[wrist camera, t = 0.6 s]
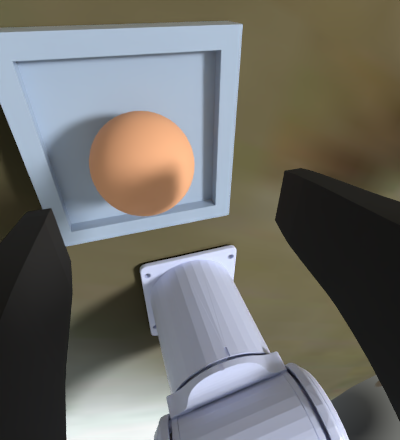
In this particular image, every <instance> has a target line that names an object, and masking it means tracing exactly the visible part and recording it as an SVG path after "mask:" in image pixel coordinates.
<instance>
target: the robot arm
mask: <svg viewBox="0 0 400 440" xmlns="http://www.w3.org/2000/svg"><path fill="white" fill-rule="evenodd" d="M275 221H276V223H277V225H278V226H279V228H280V230H281V232H282V234H283V236H284V237H285V239H286V241H287V242H288V244H289V245H290V247H291V248H292V249H293V251H294V252H295V253H296V254H297V256H298V257H299V258H300V260H301V261H302V262H303V264H304V265H305V266H306V267H307V269H308V270H309V271H310V272H311V274H312V275H313V276H314V277H315V279H316V280H317V281H318V283H319V284H320V285H321V286H322V288H323V289H324V290H325V291H326V293H327V294H328V295H329V297H330V298H331V300H332V301H333V302H334V304H335V305H336V307H337V308H338V310H339V312H340V313H341V315H342V316H343V318H344V320H345V321H346V323H347V324H348V326H349V327H350V329H351V331H352V332H353V334H354V336H355V338H356V339H357V341H358V343H359V344H360V346H361V348H362V350H363V351H364V353H365V355H366V356H367V358H368V360H369V362H370V364H371V366H372V367H373V369H374V371H375V373H376V375H377V377H378V379H379V381H380V382H381V384H382V386H383V388H384V390H385V392H386V393H387V396H388V398H389V400H390V402H391V404H392V406H393V408H394V410H395V412H396V414H397V416H398V419H399V421H400V202H399V201H396V200H393V199H390V198H386V197H383V196H381V195H378V194H375V193H372V192H369V191H366V190H364V189H361V188H358V187H355V186H353V185H350V184H347V183H345V182H342V181H339V180H336V179H334V178H331V177H328V176H325V175H322V174H320V173H316V172H313V171H310V170H306V169H302V168H299V169H293V170H287V171H285V172H284V177H283V182H282V187H281V193H280V198H279V203H278V208H277V213H276V218H275ZM229 255H230V256H229ZM235 260H236V248H235V247H234V246H233V245H229V246H224V247H220V248H215V249H211V250H206V251H202V252H197V253H193V254H188V255H184V256H179V257H174V258H170V259H165V260H161V261H156V262H152V263H147V264H144V265H142V266H141V267H140V274H141V280H142V286H143V291H144V297H145V302H146V308H147V313H148V319H149V324H150V330H151V334H152V335H153V336H157V335H158V337H159V342H160V346H161V350H162V355H163V359H164V364H165V368H166V373H167V377H168V382H169V386H170V391H171V395H169V396H167V397H166V399H167V403H168V408H169V413H170V414H167V415H165V416H163V417H161V418H160V421H159V425H158V427H157V430H156V432H155V435H154V440H349V439H348V436H347V434H346V431H345V429H344V427H343V425H342V423H341V421H340V418H339V416H338V414H337V413H336V411H335V409H334V407H333V405H332V403H331V402H330V400H329V398H328V397H327V395H326V393H325V392H324V390H323V389H322V387H321V386H320V385H319V383H318V382H317V381H316V379H315V378H314V377H313V376H312V375H311V374H310V373H309V372H308V371H306V370H305V369H303V368H301V367H299V366H298V365H296V364H294V363H288V364H286V365H284V363H283V361H282V360H281V358H280V356H279V354H278V352H276V351H275V352H273V353H270V351H269V349H268V347H267V345H266V343H265V342H264V340H263V338H262V336H261V334H260V332H259V330H258V328H257V326H256V324H255V322H254V320H253V318H252V316H251V315H250V313H249V311H248V309H247V307H246V305H245V303H244V301H243V299H242V297H241V295H240V293H239V291H238V289H237V288H236V286H235V284H234V282H233V280H234V270H235ZM145 274H147V275H145ZM71 304H72V271H71V260H70V257H69V255H68V252H67V249H66V246H65V244H64V241H63V238H62V236H61V233H60V230H59V227H58V225H57V222H56V219H55V216H54V214H53V211H52V208H48V209H42V210H35V211H29V212H27V213H26V214H25V215H24V216H23V217H22V218H21V219H20V220H19V222H18V223H17V224H16V225H15V226H14V227H13V229H12V230H11V231H10V232H9V233H8V235H7V236H6V237H5V238H4V239H3V240H2V242H1V243H0V440H66V402H65V378H66V361H67V350H68V339H69V328H70V316H71Z"/></svg>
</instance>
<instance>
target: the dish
mask: <svg viewBox="0 0 400 440" xmlns="http://www.w3.org/2000/svg"><path fill="white" fill-rule="evenodd" d="M242 27H243V24H240V23H236V22H231V21H203V22H171V23H139V24H106V25H74V26H41V27H9V28H0V104H1V106H2V109H3V111H4V114H5V116H6V119H7V121H8V124H9V126H10V129H11V131H12V134H13V136H14V139H15V141H16V144H17V146H18V149H19V151H20V154H21V156H22V159H23V161H24V164H25V166H26V169H27V171H28V174H29V176H30V179H31V181H32V184H33V186H34V189H35V191H36V194H37V196H38V199H39V201H40V204H41V206H42V209H48V208H52V211H53V214H54V216H55V219H56V222H57V225H58V227H59V230H60V233H61V236H62V238H63V241H64V244H65V246H71V245H76V244H81V243H86V242H91V241H96V240H102V239H107V238H112V237H117V236H122V235H127V234H132V233H137V232H143V231H148V230H153V229H158V228H163V227H168V226H173V225H178V224H184V223H189V222H194V221H199V220H204V219H209V218H214V217H220V216H225V215H229V205H230V191H231V177H232V164H233V150H234V136H235V123H236V109H237V95H238V82H239V68H240V54H241V41H242ZM132 111H149V112H154V113H157V114H160V115H162V116H164V117H166V118H168V119H170V120H171V121H172V122H174V123H175V124H176V125H177V126H178V127H179V128H180V129H181V130H182V131H183V133H184V134H185V135H186V137H187V139H188V141H189V143H190V145H191V147H192V151H193V155H194V162H195V166H194V176H193V180H192V183H191V185H190V188H189V190H188V192H187V193H186V195H185V196H184V197H183V198H182V200H181V201H180V202H179V203H178V204H176V205H175V206H174V207H173V208H171V209H169V210H167V211H165V212H163V213H160V214H157V215H153V216H135V215H130V214H127V213H124V212H122V211H119V210H118V209H116V208H114V207H113V206H111V205H110V204H109V203H107V202H106V201H105V199H104V198H103V197H102V196H101V195H100V194H99V192H98V191H97V189H96V187H95V185H94V183H93V181H92V178H91V174H90V169H89V155H90V149H91V145H92V143H93V141H94V138H95V136H96V135H97V133H98V132H99V130H100V129H101V128H102V127H103V126H104V125H105V124H106V123H107V122H108V121H110V120H111V119H113V118H114V117H116V116H118V115H121V114H123V113H127V112H132Z"/></svg>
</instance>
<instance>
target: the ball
mask: <svg viewBox="0 0 400 440" xmlns="http://www.w3.org/2000/svg"><path fill="white" fill-rule="evenodd" d="M194 166H195V162H194V155H193V151H192V147H191V145H190V143H189V141H188V139H187V137H186V135H185V134H184V133H183V131H182V130H181V129H180V128H179V127H178V126H177V125H176V124H175V123H174V122H172V121H171V120H170V119H168V118H166V117H164V116H162V115H160V114H157V113H154V112H149V111H132V112H127V113H123V114H121V115H118V116H116V117H114V118H113V119H111V120H110V121H108V122H107V123H106V124H105V125H104V126H103V127H102V128H101V129H100V130H99V132H98V133H97V135H96V136H95V138H94V141H93V143H92V145H91V149H90V155H89V169H90V174H91V178H92V181H93V183H94V185H95V187H96V189H97V191H98V192H99V194H100V195H101V196H102V197H103V198H104V199H105V201H106V202H107V203H109V204H110V205H111V206H113V207H114V208H116V209H118V210H119V211H122V212H124V213H127V214H130V215H135V216H153V215H157V214H160V213H163V212H165V211H167V210H169V209H171V208H173V207H174V206H175V205H176V204H178V203H179V202H180V201H181V200H182V198H183V197H184V196H185V195H186V193H187V192H188V190H189V188H190V185H191V183H192V180H193V176H194Z"/></svg>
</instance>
